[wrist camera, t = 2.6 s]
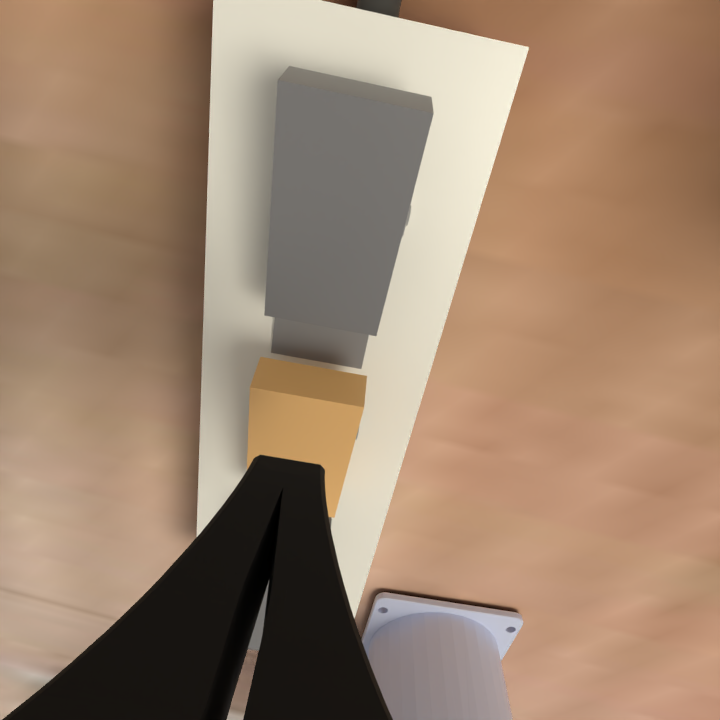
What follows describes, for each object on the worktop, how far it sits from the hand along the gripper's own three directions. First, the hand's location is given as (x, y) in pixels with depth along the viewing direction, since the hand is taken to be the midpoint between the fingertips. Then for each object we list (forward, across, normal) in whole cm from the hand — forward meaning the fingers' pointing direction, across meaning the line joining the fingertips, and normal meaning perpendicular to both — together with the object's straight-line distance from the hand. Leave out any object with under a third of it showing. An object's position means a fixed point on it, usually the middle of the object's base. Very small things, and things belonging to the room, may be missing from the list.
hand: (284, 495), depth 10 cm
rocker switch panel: (+9, 0, -1) cm, 9 cm away
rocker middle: (+5, 0, +2) cm, 6 cm away
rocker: (+5, 0, -5) cm, 7 cm away
